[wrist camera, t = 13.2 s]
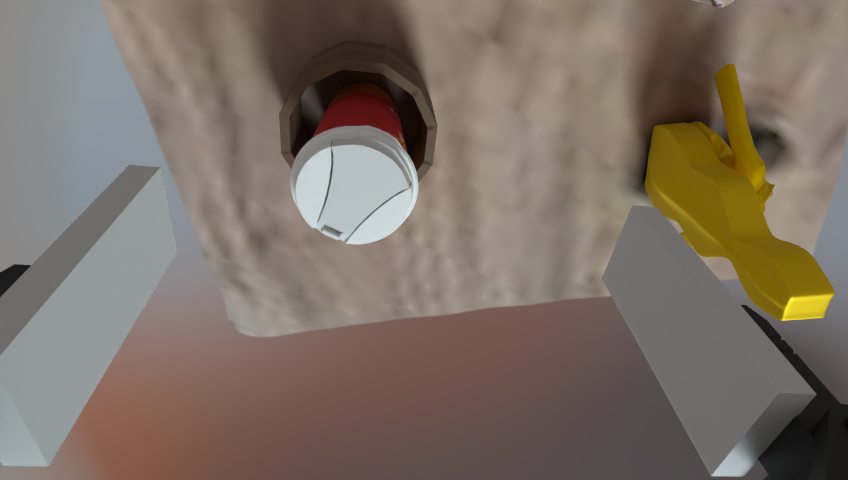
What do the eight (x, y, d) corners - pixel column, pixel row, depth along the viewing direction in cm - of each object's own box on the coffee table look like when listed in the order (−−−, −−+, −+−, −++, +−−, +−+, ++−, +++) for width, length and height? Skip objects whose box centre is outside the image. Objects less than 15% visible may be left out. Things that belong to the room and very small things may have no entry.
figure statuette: (692, 225, 52) (857, 394, 34) (617, 234, 52) (742, 408, 34) (731, 50, 42) (995, 154, 24) (640, 62, 42) (833, 175, 24)
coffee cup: (381, 174, 47) (379, 269, 34) (300, 131, 44) (265, 218, 31) (429, 98, 43) (445, 174, 30) (344, 46, 40) (323, 106, 28)
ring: (290, 35, 39) (276, 53, 34) (437, 50, 41) (444, 69, 36) (295, 171, 46) (283, 202, 41) (422, 180, 47) (426, 211, 42)
